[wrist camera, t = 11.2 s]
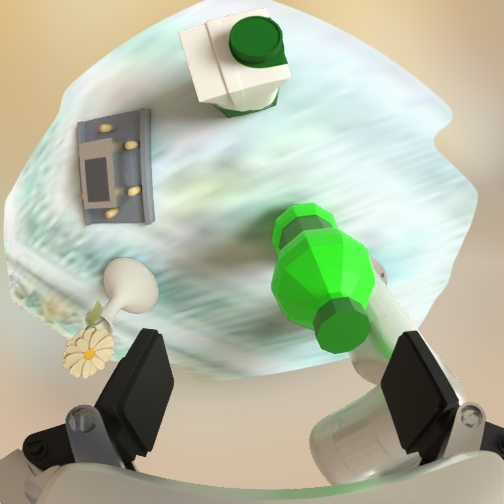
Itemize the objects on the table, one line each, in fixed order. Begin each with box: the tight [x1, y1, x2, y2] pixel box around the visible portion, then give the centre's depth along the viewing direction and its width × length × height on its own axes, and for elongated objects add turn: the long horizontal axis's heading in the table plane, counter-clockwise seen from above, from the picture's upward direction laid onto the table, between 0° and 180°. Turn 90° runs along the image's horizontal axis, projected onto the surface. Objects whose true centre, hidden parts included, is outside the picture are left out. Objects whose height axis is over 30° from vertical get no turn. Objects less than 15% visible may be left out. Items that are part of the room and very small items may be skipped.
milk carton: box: [179, 8, 291, 118], centre depth 25 cm, size 9×9×20 cm
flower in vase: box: [63, 257, 159, 379], centre depth 35 cm, size 13×11×25 cm
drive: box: [79, 137, 132, 209], centre depth 35 cm, size 10×6×6 cm, turn 179°
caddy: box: [78, 108, 155, 225], centre depth 37 cm, size 18×13×4 cm
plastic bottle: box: [271, 203, 375, 354], centre depth 30 cm, size 10×10×25 cm
